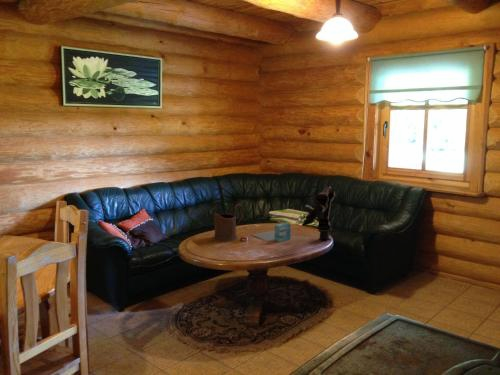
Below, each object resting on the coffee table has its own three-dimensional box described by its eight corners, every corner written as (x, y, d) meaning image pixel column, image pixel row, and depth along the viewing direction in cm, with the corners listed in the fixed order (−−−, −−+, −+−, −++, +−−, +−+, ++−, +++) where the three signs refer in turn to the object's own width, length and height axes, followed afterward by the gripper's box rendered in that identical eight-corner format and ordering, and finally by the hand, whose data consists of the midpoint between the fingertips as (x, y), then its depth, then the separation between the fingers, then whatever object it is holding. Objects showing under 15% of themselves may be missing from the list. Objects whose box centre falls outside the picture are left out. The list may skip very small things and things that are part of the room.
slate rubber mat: (274, 230, 348) (274, 230, 347) (290, 236, 331) (290, 235, 331) (251, 235, 335) (251, 234, 335) (267, 241, 319) (267, 241, 319)
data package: (278, 242, 317) (278, 226, 315) (274, 241, 320) (274, 225, 318) (290, 239, 324) (290, 223, 322) (286, 237, 328) (286, 222, 326)
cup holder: (209, 237, 331) (208, 204, 327) (237, 232, 342) (237, 201, 338) (219, 243, 315) (218, 209, 311) (248, 238, 326) (248, 206, 322)
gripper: (313, 199, 319) (297, 213, 324) (308, 204, 301) (292, 218, 306) (323, 210, 318) (308, 224, 323) (320, 216, 300) (303, 230, 305)
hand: (303, 224), depth 314 cm, fingers open, 6 cm apart
